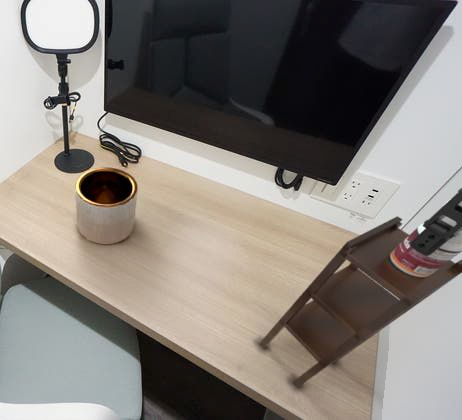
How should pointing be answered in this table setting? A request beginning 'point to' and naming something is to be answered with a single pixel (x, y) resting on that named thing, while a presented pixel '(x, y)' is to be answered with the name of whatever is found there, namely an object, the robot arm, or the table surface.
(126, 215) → the planter
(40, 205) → the table surface
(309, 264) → the table surface
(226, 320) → the table surface
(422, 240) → the robot arm
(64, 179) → the table surface
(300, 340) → the rack
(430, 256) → the pill bottle
